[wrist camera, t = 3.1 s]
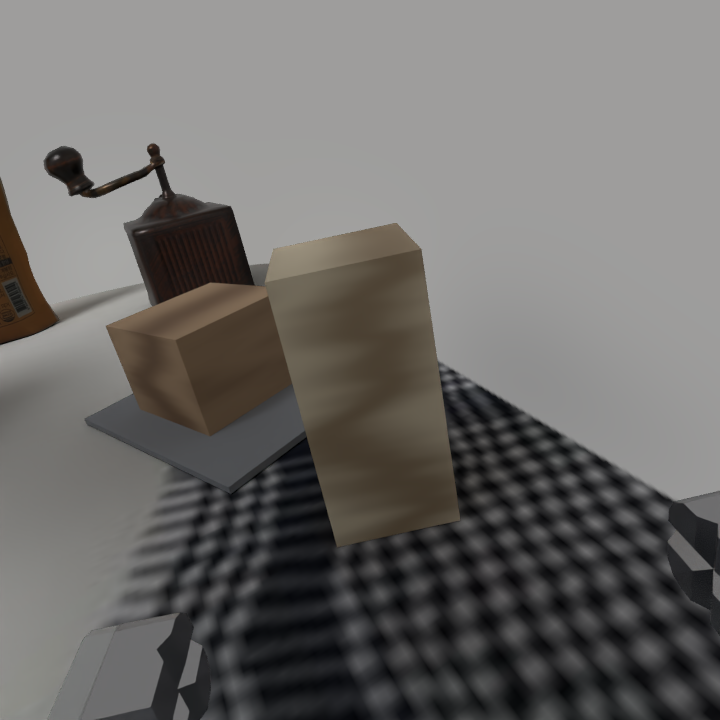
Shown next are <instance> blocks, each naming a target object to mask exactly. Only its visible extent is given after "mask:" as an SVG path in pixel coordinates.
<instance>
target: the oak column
mask: <svg viewBox="0 0 720 720" xmlns="http://www.w3.org/2000/svg"><path fill="white" fill-rule="evenodd" d="M265 286H266V289H267V293H268V297H269V300H270V304H271V308H272V311H273V315H274V319H275V322H276V326H277V330H278V333H279V337H280V341H281V344H282V348H283V351H284V355H285V359H286V362H287V366H288V370H289V373H290V377H291V381H292V384H293V388H294V392H295V395H296V399H297V403H298V406H299V410H300V414H301V417H302V421H303V424H304V428H305V432H306V435H307V439H308V443H309V446H310V450H311V454H312V457H313V461H314V465H315V468H316V472H317V476H318V479H319V483H320V487H321V490H322V494H323V497H324V501H325V505H326V508H327V512H328V516H329V519H330V523H331V527H332V530H333V534H334V538H335V541H336V545H337V547H341V546H345V545H350V544H354V543H359V542H364V541H368V540H373V539H377V538H382V537H387V536H391V535H396V534H400V533H405V532H409V531H414V530H419V529H423V528H428V527H432V526H437V525H442V524H446V523H451V522H455V521H460V514H459V507H458V500H457V493H456V486H455V479H454V472H453V465H452V458H451V451H450V444H449V437H448V430H447V424H446V417H445V410H444V403H443V396H442V389H441V382H440V375H439V368H438V361H437V355H436V348H435V341H434V334H433V327H432V321H431V313H430V306H429V300H428V292H427V285H426V278H425V271H424V265H423V258H422V251H421V248H419V246H418V245H417V244H416V243H415V242H414V241H413V240H412V239H411V238H410V237H409V236H408V235H407V234H406V232H404V230H403V229H402V228H401V227H400V226H399V225H398V224H397V223H393V224H389V225H384V226H379V227H375V228H370V229H365V230H361V231H356V232H351V233H346V234H342V235H337V236H332V237H328V238H323V239H318V240H314V241H309V242H305V243H299V244H295V245H290V246H285V247H281V248H276V249H273V252H272V256H271V260H270V264H269V267H268V271H267V275H266V279H265Z"/></svg>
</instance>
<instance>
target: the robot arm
mask: <svg viewBox="0 0 720 720" xmlns="http://www.w3.org/2000/svg"><path fill="white" fill-rule="evenodd" d="M668 521H669V522H670V523H671V524H672V526H673V527H674V528H675V529H676V531H675V533H674V534H673V535H672V537H671V538H670V539H669V541H668V542H667V546H668V561H669V564H670V567H671V570H672V573H673V575H674V577H675V579H676V580H677V582H678V584H679V586H680V587H681V589H682V590H683V591H684V592H685V594H686V595H687V596H688V597H689V599H690V600H691V601H693V602H695V603H697V604H699V605H701V606H703V607H705V608H707V609H709V610H710V624H711V626H712V627H713V628H714V629H715V630H716V632H717V633H718V634H719V635H720V491H717V492H713V493H708V494H704V495H700V496H696V497H691V498H687V499H683V500H678V501H674V502H673V503H672V505H671V507H670V508H669V519H668ZM193 628H194V627H193V625H192V623H191V621H190V619H189V617H188V615H187V613H181V612H180V613H175V614H169V615H164V616H159V617H154V618H149V619H144V620H139V621H134V622H129V623H124V624H121V625H117V626H112V627H107V628H102V629H96V630H92V631H91V632H90V633H89V634H88V635H87V636H86V637H85V638H84V639H83V641H82V643H81V645H80V647H79V650H78V652H77V654H76V656H75V659H74V661H73V663H72V665H71V668H70V670H69V672H68V674H67V677H66V679H65V681H64V683H63V685H62V688H61V690H60V692H59V694H58V697H57V699H56V701H55V703H54V706H53V708H52V710H51V712H50V714H49V717H48V719H47V720H200V719H201V717H202V716H203V715H204V713H205V712H206V711H207V709H208V705H209V698H210V692H211V680H210V667H209V663H208V658H207V655H206V653H205V651H204V648H203V646H202V645H200V644H198V643H196V642H194V641H193V640H191V637H192V633H193Z"/></svg>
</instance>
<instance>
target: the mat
mask: <svg viewBox="0 0 720 720" xmlns="http://www.w3.org/2000/svg"><path fill="white" fill-rule="evenodd" d="M85 421H86V423H87V424H88V425H90V426H92V427H94V428H96V429H98V430H100V431H102V432H104V433H106V434H108V435H110V436H112V437H115V438H117V439H119V440H121V441H123V442H125V443H127V444H129V445H131V446H133V447H135V448H137V449H139V450H141V451H143V452H145V453H147V454H150V455H152V456H154V457H156V458H158V459H160V460H162V461H164V462H166V463H168V464H170V465H172V466H174V467H176V468H178V469H180V470H182V471H184V472H187V473H189V474H191V475H193V476H195V477H197V478H199V479H201V480H203V481H205V482H207V483H209V484H211V485H213V486H215V487H217V488H219V489H222V490H224V491H226V492H228V493H230V494H231V493H233V492H234V491H235V490H237V489H238V488H239V487H241V486H242V485H243V484H245V483H246V482H247V481H249V480H250V479H251V478H253V477H254V476H255V475H257V474H258V473H259V472H261V471H262V470H263V469H265V468H266V467H267V466H268V465H270V464H271V463H272V462H274V461H275V460H276V459H278V458H279V457H280V456H282V455H283V454H284V453H286V452H287V451H288V450H290V449H291V448H292V447H294V446H295V445H296V444H298V443H299V442H300V441H302V440H303V439H304V438H306V437H307V435H306V432H305V428H304V424H303V421H302V417H301V414H300V410H299V406H298V403H297V399H296V395H295V392H294V388H293V384H291V385H289V386H287V387H286V388H284V389H283V390H281V391H280V392H278V393H277V394H275V395H273V396H272V397H270V398H269V399H267V400H266V401H264V402H263V403H261V404H260V405H258V406H256V407H255V408H253V409H252V410H250V411H249V412H247V413H246V414H244V415H242V416H241V417H239V418H238V419H236V420H235V421H233V422H232V423H230V424H229V425H227V426H225V427H224V428H222V429H221V430H219V431H218V432H216V433H215V434H213V435H212V436H208V435H205V434H203V433H200V432H197V431H195V430H192V429H190V428H187V427H184V426H182V425H179V424H177V423H174V422H172V421H169V420H166V419H164V418H161V417H159V416H156V415H154V414H151V413H148V412H146V411H143V410H141V409H140V408H139V405H138V403H137V400H136V398H135V396H134V393H133V394H132V395H130V396H128V397H126V398H124V399H122V400H120V401H118V402H116V403H114V404H112V405H110V406H108V407H107V408H105V409H103V410H101V411H99V412H97V413H95V414H93V415H91V416H89V417H87V418H85Z"/></svg>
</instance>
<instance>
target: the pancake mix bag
mask: <svg viewBox="0 0 720 720" xmlns="http://www.w3.org/2000/svg"><path fill="white" fill-rule="evenodd" d="M59 320H60V319H59V318H58V316H57V315H56V314H55V312H54V311H53V310H52V308H51V307H50V306H49V304H48V303H47V301H46V300H45V298H44V296H43V294H42V293H41V291H40V289H39V287H38V285H37V283H36V281H35V279H34V276H33V274H32V271H31V268H30V265H29V261H28V256H27V253H26V250H25V248H24V246H23V244H22V241H21V239H20V236H19V234H18V231H17V228H16V226H15V224H14V221H13V219H12V216H11V213H10V210H9V205H8V201H7V198H6V194H5V190H4V187H3V184H2V181H1V178H0V344H2V343H5V342H8V341H12V340H15V339H19V338H22V337H26V336H30V335H33V334H35V333H37V332H40V331H42V330H44V329H46V328H48V327H49V326H51V325H53V324H54V323H56V322H57V321H59Z"/></svg>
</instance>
